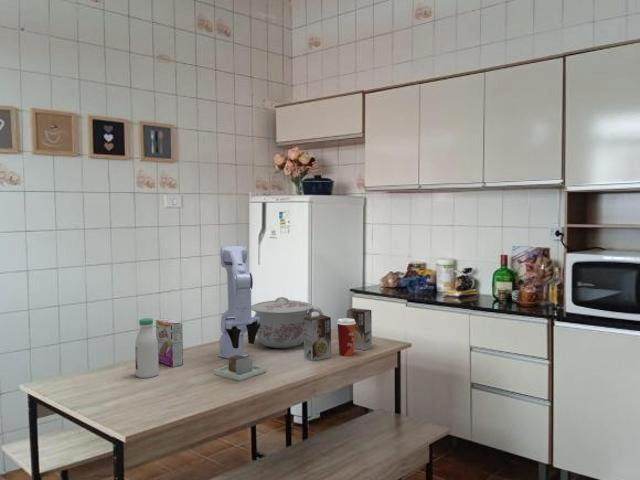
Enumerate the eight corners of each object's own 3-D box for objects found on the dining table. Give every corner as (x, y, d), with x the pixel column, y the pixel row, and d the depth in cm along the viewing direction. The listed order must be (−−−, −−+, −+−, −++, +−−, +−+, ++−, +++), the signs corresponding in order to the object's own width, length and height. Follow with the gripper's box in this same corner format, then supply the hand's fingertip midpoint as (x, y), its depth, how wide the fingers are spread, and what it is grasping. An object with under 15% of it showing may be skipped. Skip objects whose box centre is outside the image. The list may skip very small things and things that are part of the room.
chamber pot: (236, 345, 243) (235, 297, 242) (282, 334, 263) (281, 290, 262) (283, 356, 224) (282, 304, 223) (328, 344, 245) (327, 296, 244)
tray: (213, 374, 201) (213, 369, 201) (240, 366, 211) (240, 361, 211) (239, 381, 193) (239, 376, 193) (265, 372, 203) (265, 367, 203)
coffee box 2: (372, 347, 238) (372, 309, 237) (365, 350, 233) (365, 312, 232) (353, 344, 243) (353, 307, 243) (346, 347, 238) (345, 309, 237)
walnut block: (228, 370, 203) (228, 357, 203) (237, 368, 207) (236, 354, 206) (236, 372, 201) (236, 358, 201) (244, 370, 204) (244, 356, 204)
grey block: (236, 374, 199) (236, 360, 199) (244, 371, 203) (244, 357, 202) (244, 376, 197) (244, 361, 197) (252, 373, 200) (252, 359, 200)
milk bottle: (163, 373, 203) (161, 317, 202) (149, 379, 196) (148, 321, 194) (144, 371, 205) (143, 316, 204) (131, 377, 198) (129, 320, 197)
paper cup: (354, 357, 223) (354, 322, 222) (335, 356, 225) (335, 321, 224) (357, 352, 231) (357, 318, 230) (338, 351, 232) (338, 317, 231)
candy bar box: (155, 362, 217) (155, 319, 216) (167, 359, 221) (166, 318, 220) (172, 367, 209) (171, 323, 209) (183, 365, 213) (182, 321, 212)
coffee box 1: (322, 354, 228) (322, 314, 227) (331, 357, 223) (331, 316, 222) (303, 357, 223) (303, 316, 222) (312, 361, 218) (312, 319, 217)
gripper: (235, 311, 191) (236, 351, 191) (265, 305, 202) (266, 343, 203) (221, 309, 195) (222, 348, 196) (251, 303, 206) (252, 340, 207)
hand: (243, 345), depth 199 cm, fingers open, 7 cm apart
